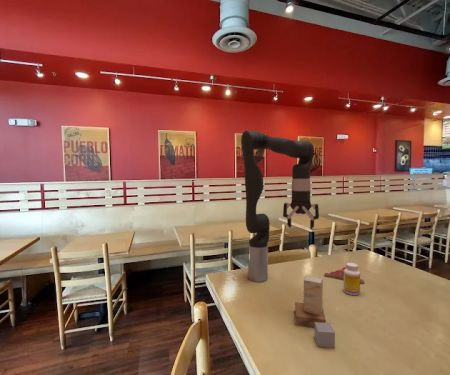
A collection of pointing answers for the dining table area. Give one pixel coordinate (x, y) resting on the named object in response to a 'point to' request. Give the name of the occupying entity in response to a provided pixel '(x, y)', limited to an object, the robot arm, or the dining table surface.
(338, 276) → the pepperoni pizza slice
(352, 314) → the dining table surface
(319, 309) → the skincare box
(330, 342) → the grey cube
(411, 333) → the dining table surface
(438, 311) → the dining table surface
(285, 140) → the robot arm
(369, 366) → the dining table surface
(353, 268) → the supplement bottle
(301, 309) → the walnut block
